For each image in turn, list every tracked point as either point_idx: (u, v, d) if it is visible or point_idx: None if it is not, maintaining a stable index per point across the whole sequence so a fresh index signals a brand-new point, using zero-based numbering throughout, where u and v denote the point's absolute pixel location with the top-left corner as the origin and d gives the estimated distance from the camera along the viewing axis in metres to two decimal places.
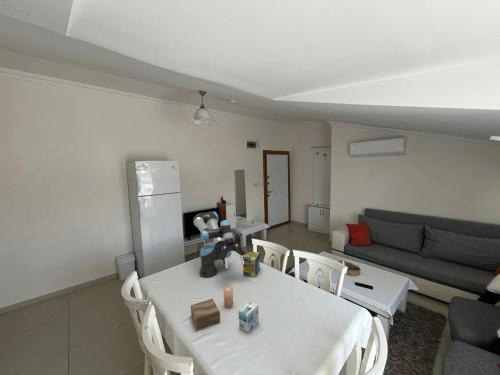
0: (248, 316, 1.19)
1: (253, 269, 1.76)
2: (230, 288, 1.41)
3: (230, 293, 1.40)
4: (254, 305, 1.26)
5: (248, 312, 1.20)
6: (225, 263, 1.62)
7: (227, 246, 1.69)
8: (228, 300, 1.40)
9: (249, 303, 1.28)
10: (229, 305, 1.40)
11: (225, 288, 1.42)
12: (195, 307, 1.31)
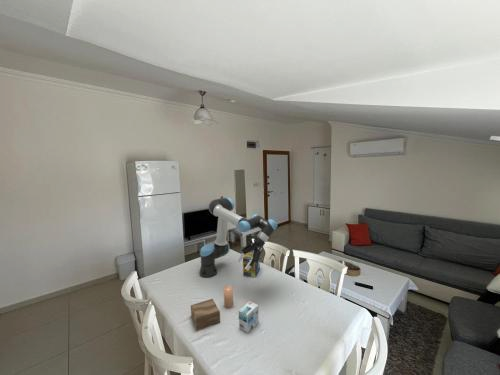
0: (248, 316, 1.19)
1: (253, 269, 1.76)
2: (230, 288, 1.41)
3: (230, 293, 1.40)
4: (254, 305, 1.26)
5: (248, 312, 1.20)
6: (250, 265, 1.40)
7: None
8: (228, 300, 1.40)
9: (249, 303, 1.28)
10: (229, 305, 1.40)
11: (225, 288, 1.42)
12: (195, 307, 1.31)
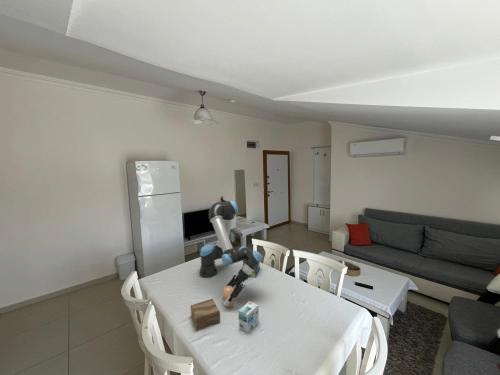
0: (248, 316, 1.19)
1: None
2: (230, 288, 1.41)
3: (230, 293, 1.40)
4: (254, 305, 1.26)
5: (248, 312, 1.20)
6: None
7: None
8: None
9: (249, 303, 1.28)
10: (229, 305, 1.40)
11: (225, 288, 1.42)
12: (195, 307, 1.31)
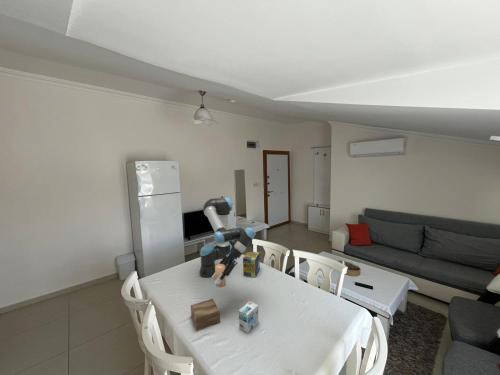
0: (248, 316, 1.19)
1: (253, 269, 1.76)
2: (222, 266, 1.34)
3: (222, 271, 1.32)
4: (254, 305, 1.26)
5: (248, 312, 1.20)
6: None
7: None
8: None
9: (249, 303, 1.28)
10: (221, 284, 1.33)
11: (217, 266, 1.34)
12: (195, 307, 1.31)
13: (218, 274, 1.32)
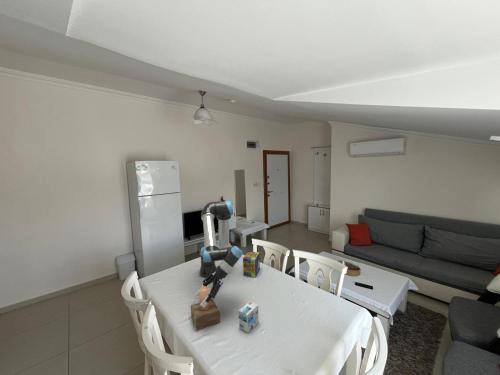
0: (248, 316, 1.19)
1: (253, 269, 1.76)
2: (206, 289, 1.29)
3: (206, 295, 1.27)
4: (254, 305, 1.26)
5: (248, 312, 1.20)
6: None
7: None
8: None
9: (249, 303, 1.28)
10: (205, 308, 1.27)
11: (201, 289, 1.29)
12: (195, 307, 1.31)
13: (202, 298, 1.27)
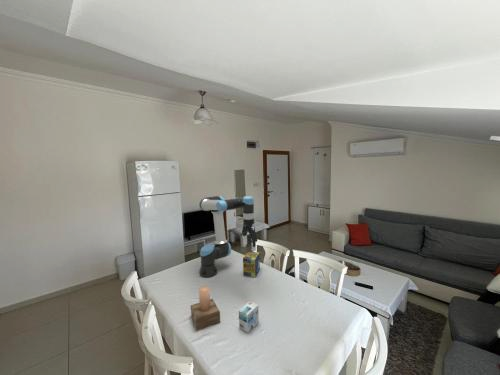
0: (248, 316, 1.19)
1: (253, 269, 1.76)
2: (206, 289, 1.29)
3: (206, 294, 1.27)
4: (254, 305, 1.26)
5: (248, 312, 1.20)
6: None
7: None
8: (204, 302, 1.27)
9: (249, 303, 1.28)
10: (205, 308, 1.27)
11: (201, 289, 1.29)
12: (195, 307, 1.31)
13: (202, 297, 1.27)
